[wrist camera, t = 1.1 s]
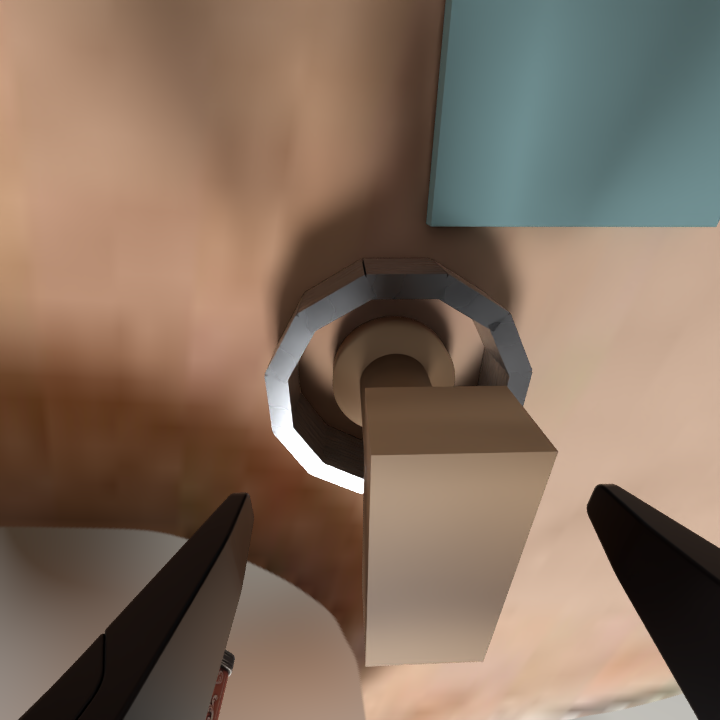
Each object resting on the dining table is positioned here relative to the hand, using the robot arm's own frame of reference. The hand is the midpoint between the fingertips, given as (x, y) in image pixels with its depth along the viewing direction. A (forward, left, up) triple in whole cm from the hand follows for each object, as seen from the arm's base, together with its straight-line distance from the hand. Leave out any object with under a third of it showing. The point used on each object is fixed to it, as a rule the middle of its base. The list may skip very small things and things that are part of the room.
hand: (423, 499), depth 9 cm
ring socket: (0, 0, -7) cm, 7 cm away
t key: (0, 0, -7) cm, 7 cm away
